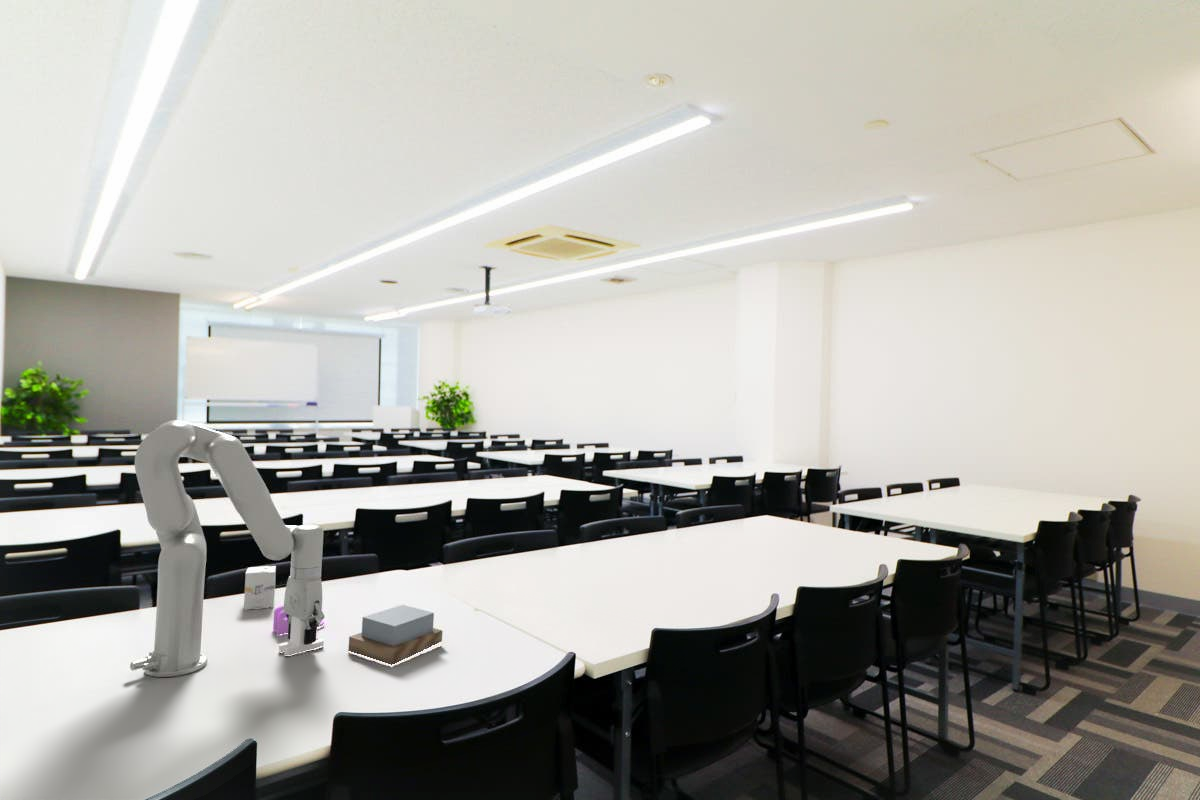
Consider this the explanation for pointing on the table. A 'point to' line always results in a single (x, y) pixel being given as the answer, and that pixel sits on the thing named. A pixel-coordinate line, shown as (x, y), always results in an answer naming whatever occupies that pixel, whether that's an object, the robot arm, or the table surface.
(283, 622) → the bracket
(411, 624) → the top block
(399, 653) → the bottom block
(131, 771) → the table surface
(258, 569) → the ink box
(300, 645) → the white t-shaped block
